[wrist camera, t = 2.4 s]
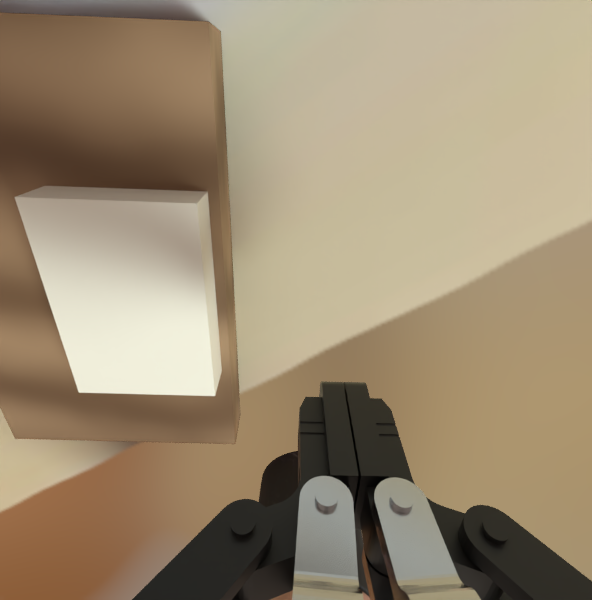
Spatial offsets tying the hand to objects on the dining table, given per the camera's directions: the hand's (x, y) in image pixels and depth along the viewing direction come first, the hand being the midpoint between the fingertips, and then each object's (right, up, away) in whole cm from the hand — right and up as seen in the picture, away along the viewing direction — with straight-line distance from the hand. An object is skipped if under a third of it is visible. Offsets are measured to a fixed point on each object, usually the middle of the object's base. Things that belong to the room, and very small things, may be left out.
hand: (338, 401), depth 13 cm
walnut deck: (-12, +5, +8) cm, 15 cm away
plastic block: (-9, +3, +5) cm, 11 cm away
